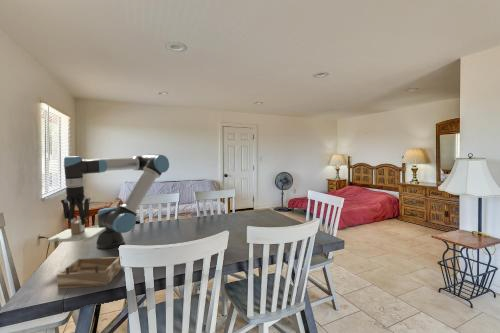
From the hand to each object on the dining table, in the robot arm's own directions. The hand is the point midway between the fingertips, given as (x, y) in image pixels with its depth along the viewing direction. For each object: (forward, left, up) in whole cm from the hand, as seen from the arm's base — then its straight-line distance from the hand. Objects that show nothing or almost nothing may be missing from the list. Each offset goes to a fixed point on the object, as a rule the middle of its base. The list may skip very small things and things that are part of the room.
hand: (78, 231), depth 132 cm
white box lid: (0, 0, -3) cm, 3 cm away
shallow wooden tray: (+17, +15, -17) cm, 28 cm away
